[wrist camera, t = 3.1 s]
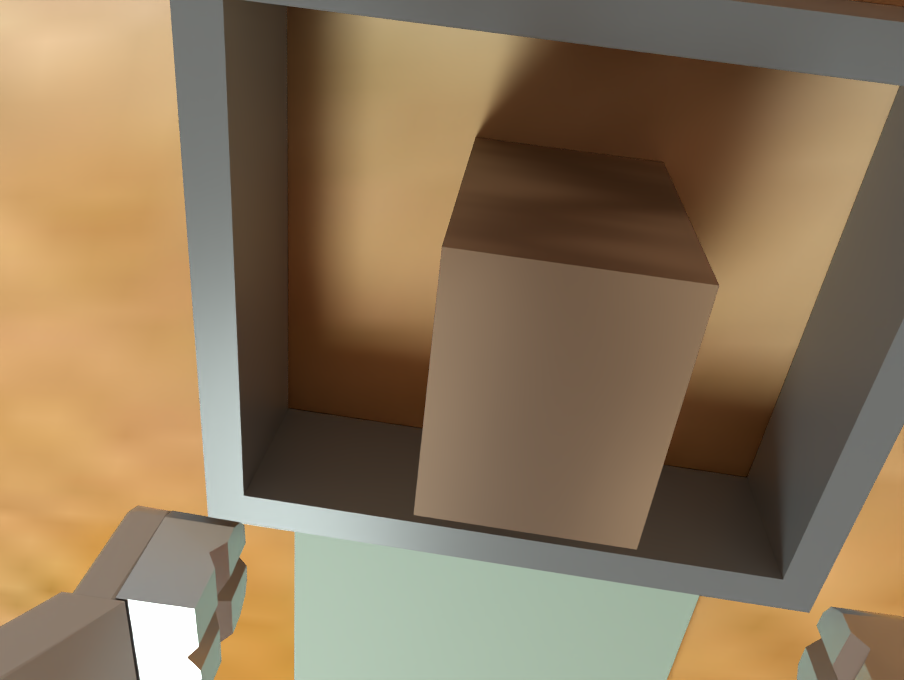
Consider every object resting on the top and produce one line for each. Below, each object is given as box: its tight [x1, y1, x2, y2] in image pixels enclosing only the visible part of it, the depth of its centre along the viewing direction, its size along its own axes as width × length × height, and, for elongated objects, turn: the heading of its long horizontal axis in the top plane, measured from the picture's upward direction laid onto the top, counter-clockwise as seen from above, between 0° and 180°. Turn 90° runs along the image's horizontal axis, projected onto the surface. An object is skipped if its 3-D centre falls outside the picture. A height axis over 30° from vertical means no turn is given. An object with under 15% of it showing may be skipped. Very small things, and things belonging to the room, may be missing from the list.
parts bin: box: [170, 0, 904, 613], centre depth 18 cm, size 16×14×4 cm
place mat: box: [294, 532, 699, 680], centre depth 28 cm, size 13×13×1 cm
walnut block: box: [414, 137, 719, 550], centre depth 17 cm, size 5×6×7 cm
